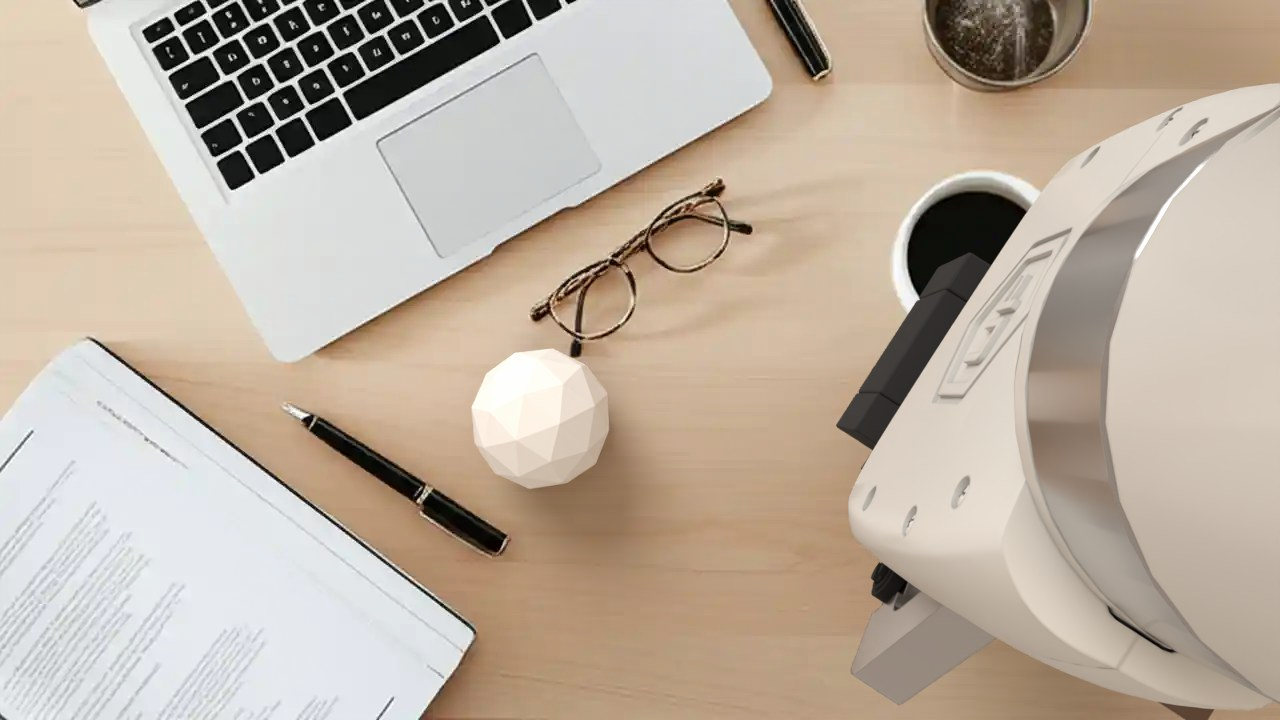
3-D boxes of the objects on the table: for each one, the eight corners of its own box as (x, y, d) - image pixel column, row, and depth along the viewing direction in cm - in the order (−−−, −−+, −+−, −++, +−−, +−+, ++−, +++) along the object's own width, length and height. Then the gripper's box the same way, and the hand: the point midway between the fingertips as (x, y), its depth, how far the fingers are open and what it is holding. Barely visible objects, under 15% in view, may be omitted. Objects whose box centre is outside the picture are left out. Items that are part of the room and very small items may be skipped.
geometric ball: (559, 383, 71) (603, 314, 65) (599, 500, 68) (649, 440, 62) (442, 398, 67) (476, 327, 61) (478, 523, 64) (518, 461, 58)
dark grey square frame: (939, 265, 33) (969, 250, 30) (1102, 369, 33) (1152, 367, 29) (834, 426, 33) (853, 429, 30) (997, 531, 33) (1036, 547, 29)
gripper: (1457, -322, 15) (1022, 74, 33) (724, 812, 14) (695, 579, 33) (1977, -9, 14) (1248, 216, 32) (1235, 1152, 14) (919, 726, 32)
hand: (973, 398), depth 32 cm, fingers closed on dark grey square frame, 5 cm apart
